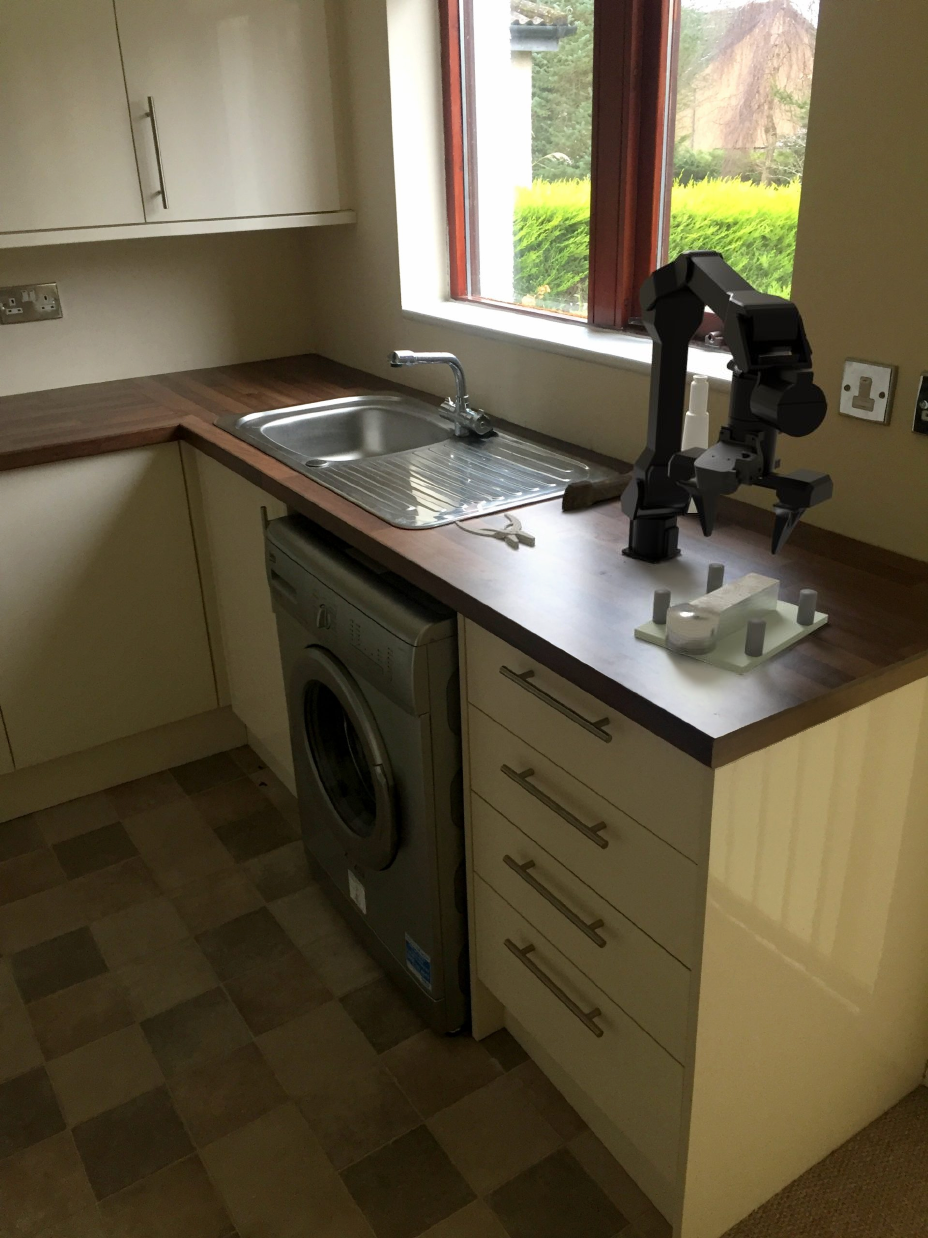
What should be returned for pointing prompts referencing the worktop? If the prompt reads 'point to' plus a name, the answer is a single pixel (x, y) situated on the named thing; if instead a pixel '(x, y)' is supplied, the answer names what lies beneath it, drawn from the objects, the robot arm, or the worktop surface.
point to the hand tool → (594, 491)
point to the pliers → (504, 532)
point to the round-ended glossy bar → (719, 614)
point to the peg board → (749, 641)
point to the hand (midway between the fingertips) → (740, 545)
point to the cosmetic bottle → (697, 420)
